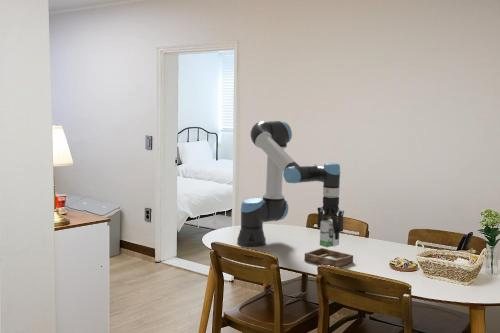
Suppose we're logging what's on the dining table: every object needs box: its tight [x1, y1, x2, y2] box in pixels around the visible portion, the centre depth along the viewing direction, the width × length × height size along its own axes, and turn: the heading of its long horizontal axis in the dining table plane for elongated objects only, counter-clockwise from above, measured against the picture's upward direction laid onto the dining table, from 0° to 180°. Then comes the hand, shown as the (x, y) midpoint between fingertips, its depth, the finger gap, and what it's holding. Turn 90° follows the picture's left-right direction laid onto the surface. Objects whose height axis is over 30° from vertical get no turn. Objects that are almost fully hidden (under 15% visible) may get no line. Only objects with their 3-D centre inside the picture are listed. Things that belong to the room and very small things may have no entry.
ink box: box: [319, 218, 340, 248], centre depth 248 cm, size 9×5×12 cm, turn 128°
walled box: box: [304, 247, 354, 268], centre depth 250 cm, size 18×14×4 cm
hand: (329, 244), depth 249 cm, fingers closed on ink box, 5 cm apart
